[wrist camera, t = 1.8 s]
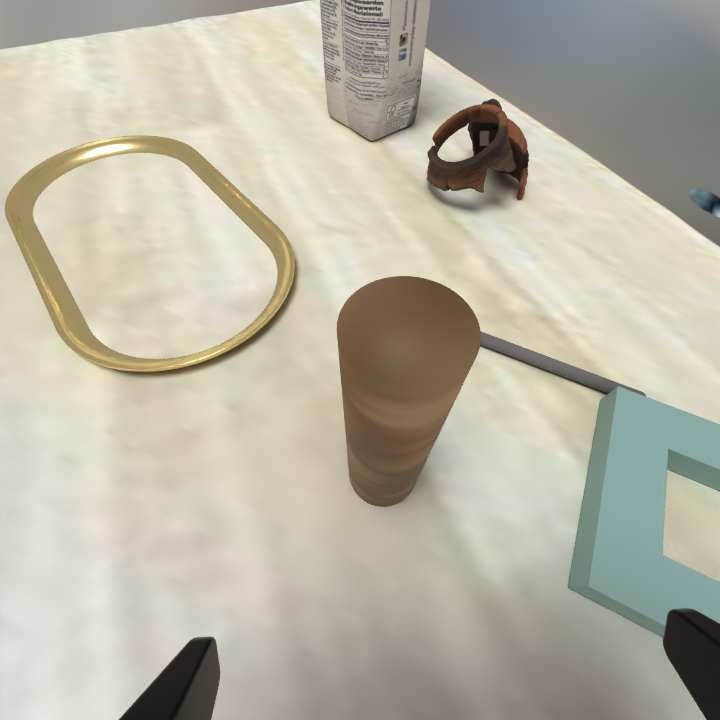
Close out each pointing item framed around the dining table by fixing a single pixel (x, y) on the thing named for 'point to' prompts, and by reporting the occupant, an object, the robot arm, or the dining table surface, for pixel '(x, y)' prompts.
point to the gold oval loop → (58, 292)
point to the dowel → (400, 378)
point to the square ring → (641, 510)
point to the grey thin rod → (552, 364)
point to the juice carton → (374, 62)
